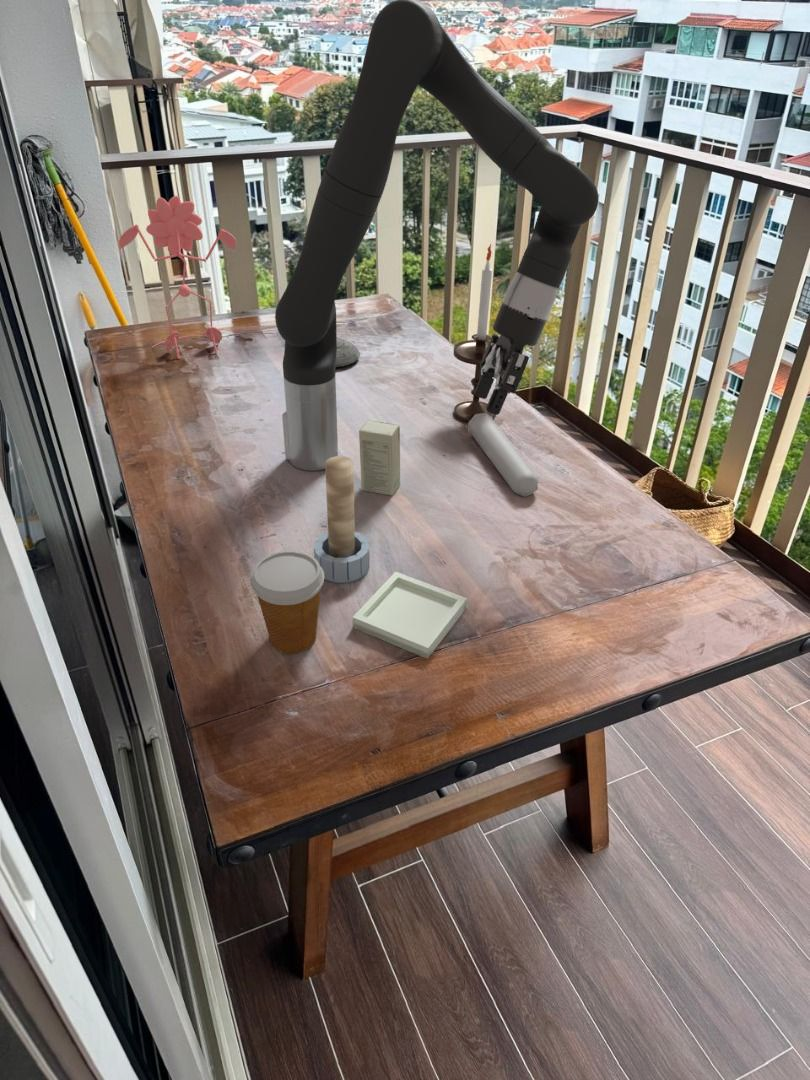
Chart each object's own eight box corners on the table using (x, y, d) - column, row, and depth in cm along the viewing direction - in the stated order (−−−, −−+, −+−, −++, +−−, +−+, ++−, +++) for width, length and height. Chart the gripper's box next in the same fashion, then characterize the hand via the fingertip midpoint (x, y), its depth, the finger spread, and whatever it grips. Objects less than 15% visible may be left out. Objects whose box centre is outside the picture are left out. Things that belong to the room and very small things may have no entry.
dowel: (324, 565, 117) (319, 465, 106) (338, 552, 120) (335, 453, 109) (346, 574, 115) (343, 473, 105) (360, 560, 118) (358, 460, 108)
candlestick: (463, 398, 168) (476, 234, 147) (508, 410, 163) (527, 242, 143) (440, 417, 160) (450, 246, 139) (486, 430, 156) (503, 256, 135)
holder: (304, 571, 116) (303, 551, 114) (335, 544, 122) (334, 524, 120) (350, 590, 113) (349, 569, 111) (379, 560, 119) (379, 540, 117)
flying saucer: (326, 343, 193) (325, 322, 189) (372, 358, 186) (372, 336, 182) (285, 361, 183) (284, 340, 179) (333, 377, 176) (332, 355, 172)
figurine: (251, 350, 187) (234, 198, 167) (144, 365, 178) (113, 206, 158) (237, 330, 198) (220, 186, 178) (135, 343, 190) (105, 193, 170)
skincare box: (400, 484, 138) (402, 424, 131) (392, 496, 134) (393, 436, 127) (368, 478, 139) (367, 418, 132) (359, 489, 136) (358, 429, 129)
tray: (352, 627, 107) (352, 617, 105) (395, 581, 115) (395, 571, 114) (427, 658, 102) (428, 648, 101) (466, 608, 110) (467, 598, 109)
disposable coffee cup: (260, 616, 108) (252, 549, 101) (327, 613, 109) (324, 547, 102) (255, 664, 100) (246, 595, 93) (327, 661, 101) (324, 592, 94)
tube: (548, 478, 134) (496, 415, 153) (523, 474, 131) (473, 410, 150) (536, 503, 136) (486, 438, 155) (511, 499, 134) (463, 433, 153)
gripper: (492, 293, 123) (456, 386, 129) (516, 309, 110) (474, 411, 117) (533, 308, 125) (495, 399, 131) (561, 326, 113) (517, 425, 119)
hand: (485, 404), depth 124 cm, fingers open, 8 cm apart
